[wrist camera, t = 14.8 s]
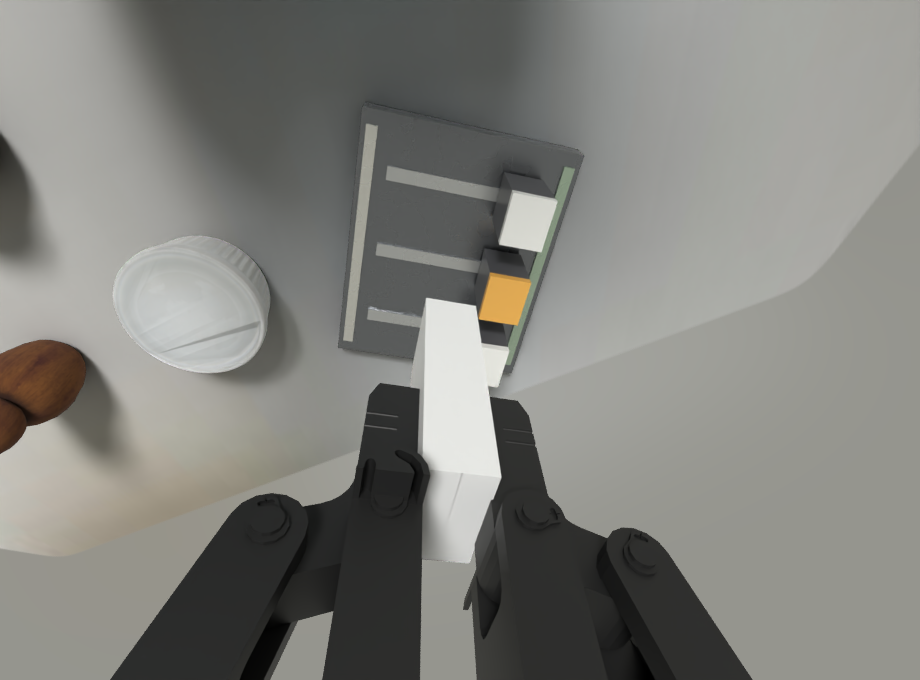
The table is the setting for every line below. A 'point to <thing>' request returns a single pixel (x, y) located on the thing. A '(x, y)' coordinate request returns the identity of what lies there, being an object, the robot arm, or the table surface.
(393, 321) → the panel
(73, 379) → the wooden figurine
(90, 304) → the table surface
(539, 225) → the block
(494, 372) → the breaker far
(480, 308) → the block
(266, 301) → the ramekin
